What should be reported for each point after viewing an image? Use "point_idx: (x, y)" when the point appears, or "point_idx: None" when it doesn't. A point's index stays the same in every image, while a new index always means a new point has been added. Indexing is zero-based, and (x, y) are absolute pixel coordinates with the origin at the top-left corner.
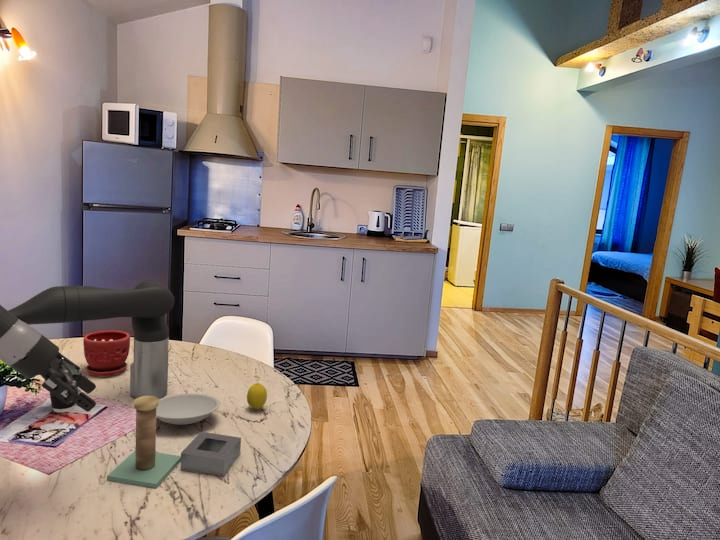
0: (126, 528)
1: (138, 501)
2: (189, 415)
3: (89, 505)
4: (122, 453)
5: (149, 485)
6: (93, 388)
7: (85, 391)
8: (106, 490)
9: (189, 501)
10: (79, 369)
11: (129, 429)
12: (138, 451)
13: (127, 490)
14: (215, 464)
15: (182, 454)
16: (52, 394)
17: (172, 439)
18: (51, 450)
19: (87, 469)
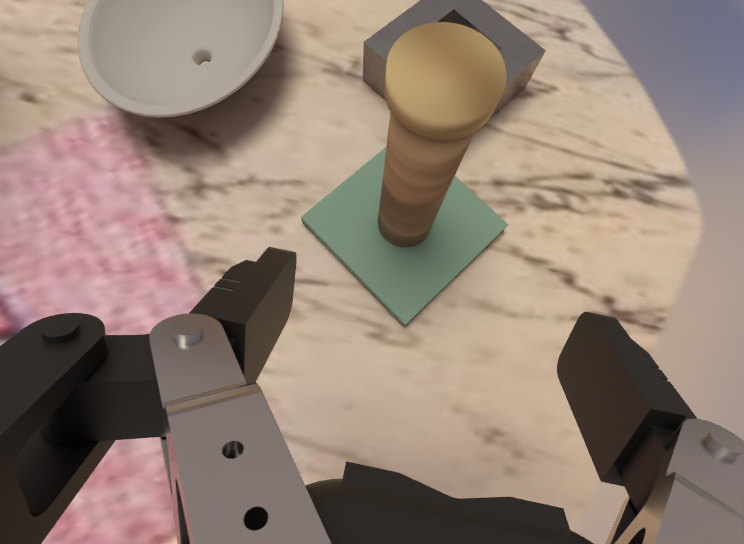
0: (638, 334)
1: (540, 281)
2: (190, 38)
3: (504, 393)
4: None
5: (492, 240)
6: (291, 271)
7: (280, 327)
8: (454, 339)
9: (590, 183)
10: (103, 327)
11: (146, 201)
12: (427, 220)
13: (479, 292)
14: (522, 77)
15: None
16: None
17: (281, 122)
18: (132, 441)
19: (317, 362)
